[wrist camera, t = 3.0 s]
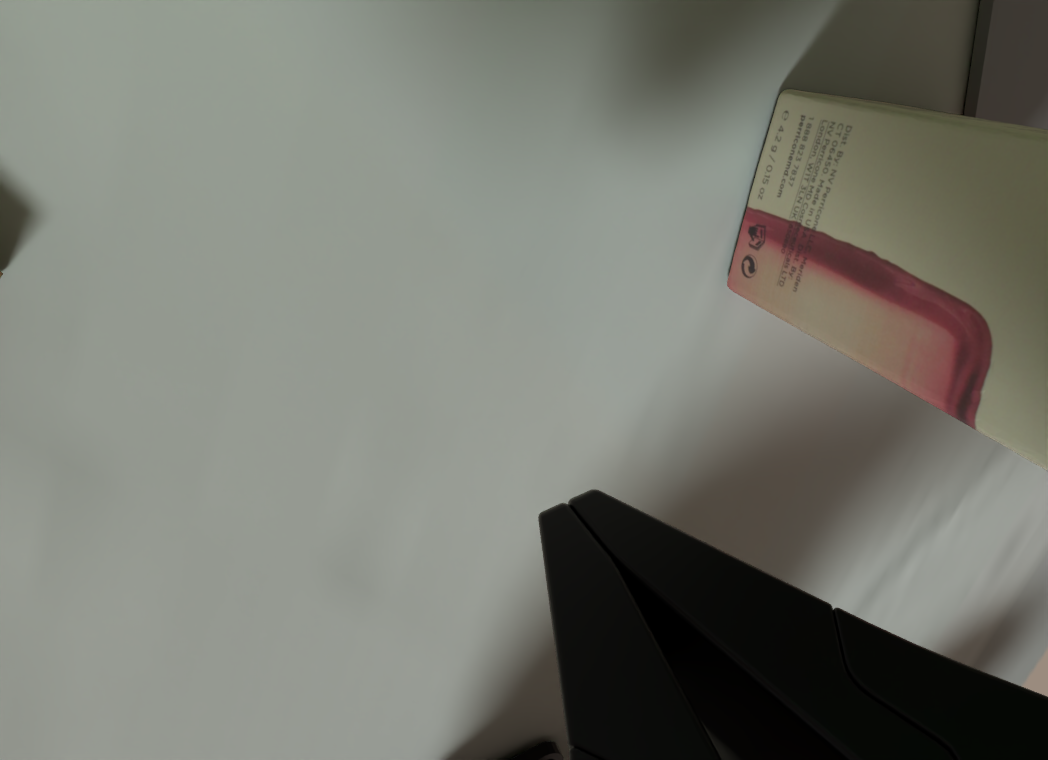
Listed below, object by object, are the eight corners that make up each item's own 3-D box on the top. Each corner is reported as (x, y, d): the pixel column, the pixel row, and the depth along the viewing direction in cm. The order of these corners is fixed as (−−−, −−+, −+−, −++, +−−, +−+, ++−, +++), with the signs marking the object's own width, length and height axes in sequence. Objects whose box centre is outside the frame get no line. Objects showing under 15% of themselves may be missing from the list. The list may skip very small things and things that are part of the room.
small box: (716, 288, 16) (1070, 504, 9) (776, 81, 14) (1274, 171, 7) (878, 291, 18) (1263, 469, 11) (950, 110, 16) (1462, 200, 9)
